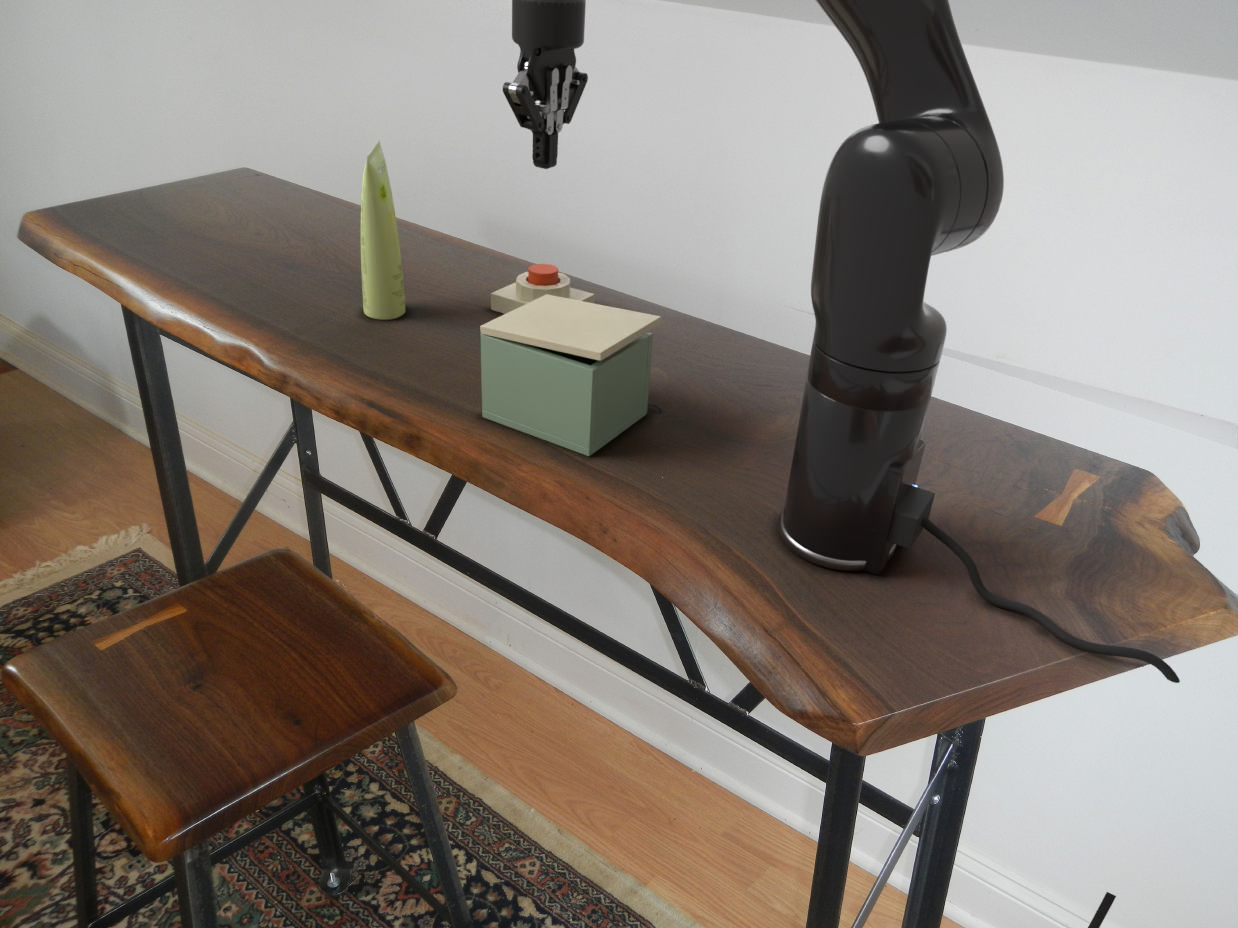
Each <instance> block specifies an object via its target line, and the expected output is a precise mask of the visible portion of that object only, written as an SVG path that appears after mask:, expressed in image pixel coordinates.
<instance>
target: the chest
mask: <svg viewBox="0 0 1238 928" xmlns="http://www.w3.org/2000/svg"><path fill="white" fill-rule="evenodd" d="M653 341H654V333H653V332H650V331H649V332H647V333H646V334H644V335H643V336H641V337H639V338H638V339H636V340H634V341H633V342H631V343H629V344H628V345H626V346H624V347H623V348H621V349H620V350H618V351H616V352H615V353H613V354H611V355H610V356H608V357H606V358H605V359H603V360H602V361H599V360H595V359H590V358H586V357H581V356H577V355H573V354H568V353H564V352H559V351H555V350H551V349H546V348H542V347H537V346H533V345H529V344H524V343H520V342H515V341H511V340H507V339H502V338H498V337H493V336H489V335H485V334H481V333H480V370H481V371H480V372H481V375H480V376H481V407H482V408H481V411H482V412H481V413H482V414H481V415H482V418H484V419H487V420H489V421H492V422H494V423H497V424H500V425H502V426H505V427H508V428H510V429H513V430H515V431H519V432H522V433H524V434H526V435H530V436H533V437H536V438H538V439H540V440H543V441H545V442H548V443H552V444H554V445H557V446H560V447H562V448H565V449H568V450H570V451H573V452H576V453H578V454H581V455H584V456H587V457H590V456H592V455H593V454H595V453H596V452H597V451H599V450H601V448H603V447H604V446H606V445H607V444H609V442H611V441H612V440H614V439H615V438H616V437H618V436H619V435H621V434H622V433H623V432H624V431H626V430H628V429H629V428H631V427H632V426H633V425H634V424H635V423H637V422H638V421H640V420H641V419H642V418H644V417H645V416H646V415H648V405H649V393H650V392H649V391H650V378H651V367H652V354H653Z"/></svg>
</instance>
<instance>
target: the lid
mask: <svg viewBox="0 0 1238 928" xmlns="http://www.w3.org/2000/svg"><path fill="white" fill-rule="evenodd" d="M661 325H662V316H660V315H656V314H650V313H645V312H640V311H634V310H630V309H626V308H625V309H624V308H620V307H614V306H609V305H603V304H600V303H595V302H594V303H589V302H584V301H579V300H573V299H568V298H563V297H558V296H553V295H548V294H546V295H544V296H542V297H540V298H538V299H536V300H534V301H531V302H529V303H527V304H525V305H523V306H521V307H519V308H517V309H515V310H513V311H511V312H508V313H506V314H504V313H503V314H502V315H500V316H498V317H496V318H494V319H492V320H489V321H487V322H486V323H484V324H481V325H479V327H480V328H479V329H480V335H481V334H485V335H489V336H493V337H498V338H502V339H507V340H511V341H515V342H520V343H524V344H529V345H533V346H537V347H542V348H546V349H551V350H555V351H559V352H564V353H568V354H573V355H577V356H581V357H586V358H590V359H595V360H599V361H602V360H603V359H605V358H606V357H608V356H610V355H611V354H613V353H615V352H616V351H618V350H620V349H621V348H623V347H624V346H626V345H628V344H629V343H631V342H633V341H634V340H636V339H638V338H639V337H641V336H643V335H644V334H646V333H647V332H650V331H652V330H654V329H656V328H658V327H659V326H661Z"/></svg>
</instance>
